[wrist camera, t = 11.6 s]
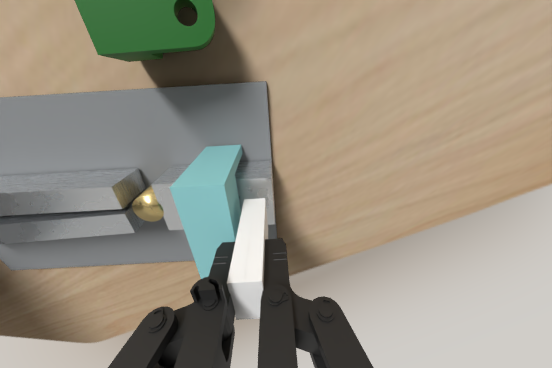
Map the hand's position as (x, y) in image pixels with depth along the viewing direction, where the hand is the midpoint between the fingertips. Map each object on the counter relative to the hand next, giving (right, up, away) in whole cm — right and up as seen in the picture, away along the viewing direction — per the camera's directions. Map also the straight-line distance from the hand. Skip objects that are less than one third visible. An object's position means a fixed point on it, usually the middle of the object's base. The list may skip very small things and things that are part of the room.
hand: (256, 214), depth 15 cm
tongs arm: (-20, 0, +5) cm, 21 cm away
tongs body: (-14, +2, +5) cm, 15 cm away
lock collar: (-3, +2, +4) cm, 6 cm away
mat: (-15, +1, +6) cm, 16 cm away
